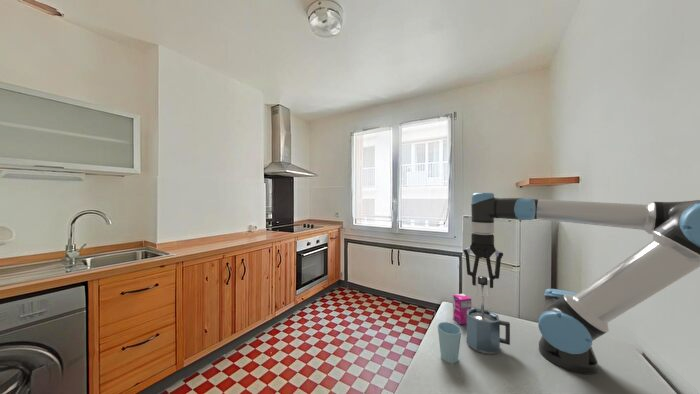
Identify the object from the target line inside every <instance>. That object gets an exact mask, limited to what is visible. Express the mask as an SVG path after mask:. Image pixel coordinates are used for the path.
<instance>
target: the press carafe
mask: <svg viewBox="0 0 700 394" xmlns="http://www.w3.org/2000/svg"><path fill="white" fill-rule="evenodd" d="M473 312H480V313H481V308H476V307H475V308H471V309H468V310H467V325H466V344H467V346H468V347H469V348H470V349H472V350H473V351H475V352H477V353H480V354H482V355H487V356H495V355H498V354H500V351H501V347H500V346H501V344H504V345H508V346H511V323H510V322H509V321H505V320H500V318H499V315H498V314H496V313H493V312H492V311H490V310H487V309H484V313H485V314H488V315H490V316H492V317H493V318H494V319H495V321H492V322H487V321H482V320H477V319H476V318H474V317H472V316H470V314H471V313H473ZM500 326H504V328H505V334H504V335H505V337H504V338H502V337H501V336H500V335H501V327H500Z"/></svg>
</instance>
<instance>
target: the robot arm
mask: <svg viewBox="0 0 700 394" xmlns="http://www.w3.org/2000/svg"><path fill="white" fill-rule="evenodd" d="M470 205H471V207H470V208H471V209H470V210H471V226H470V227H471V228H470V229H471V232H472V233H470V235H471V237H470V238H471V244H470V246H469V247H467V248H466V247H465V248H463V253H464V255H465V263H466V274H467V275H468V276H470V277H471V283H472V284H471V285H472V286H473V287H474V286H475V291H474V292H475V296H479V284H478V276H479V275H477V273H478V268H479V262H480V259H485V261H486V267H487V272H488V277H487V285H486V296H487V298H490V297H491V289H493V288H494V280H498V279H499V278H500V273H501V272H500V271H501V262H502V258H503V256H504V253H503V251H500V250H497V249H496V247H495V235H494V233H495V219H503V220H517V221H518V220H519V221H532V220H542V221H551V222H552V221H553V222H562V223H572V224H583V225H591V226H602V227H609V228H610V227H612V228H621V229H632V230H639V231H640V230H641V231H645V232H646V233H647V234H649V235H652V240H651V241H649V242H648V243H647V244H645V245H643V246H642V247H641V248H639V249H638V250H637V251H636V252H634V253H633V254H631V255H630V256H628V257H627V258H626V259H624V260H623V261H621V262H620V263H618V264H617V265H616V266H614V267H613V268H611V269H610V270H609V271H607V272H606V273H605V274H603V275H601V277H599V278H597V279H595V280H594V281H593V282H592V283H590V284H589V285H587V286H586V287H585V288H583V289H581V290H580V291H579V292H572V291H568V290H563V289H558V288H556V289H555V288H546V289H545V290H544V294H543V295H544V305H543V307H542V310H541V313H540V314H539V316H538V319H537V322H538V323H537V325H538V329H539V332H540V333H541V337H540V340H538V351H539V353H540V355H541V356H542V357H544V358H545V359H546V360H547V361H548V362H551V363H552V364H554V365H556V366H557V367H560V368H563V369H565V370H568V371H571V372H575V373H579V374H584V375H585V374H586V375H592V374H596V373H597V372H598V371H599V362H598V359H597V357H596V354H595V351H594V349H593V347H592V345H593V341H595V340H596V339H598V338H600V337H602V336H603V335H605V334H607V333H608V332H610V331H609V323H610V322H612V321H613V320H615V319H616V318H618V317H619V316H622V315H623V314H625V313H626V312H628V311H629V310H631V309H632V308H633V309H634V307H636V306H637V305H640V304H642V302H644V301H646V300H648V299H649V298H651V297H653V296H654V295H656V294H657V293H659V292H661V291H663V290H664V289H666V288H667V287H670V286H671V285H672V284H674V283H676V282H677V281H679V280H681V279H682V278H684V277H685V276H687V275H688V274H690V273H692V272H694V271H695V270H697V269H698V268H700V199H697V200H696V199H695V200H684V201H650V202H648V203H646V204H638V203H617V202H599V201H580V200H557V199H537V198H536V199H535V198H530V197H529V198H526V197H507V198H506V197H501V198H499V197H496V196H495V194H494V192H475V193H473V194H472V195H471V204H470ZM471 253H473V254H474V261H473V267H472V271H471V263H470V254H471ZM493 254H495V257H496V258H495V266H494V267H495V268H494V273H493V268H492V262H491V256H492V255H493Z"/></svg>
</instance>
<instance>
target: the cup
mask: <svg viewBox="0 0 700 394" xmlns="http://www.w3.org/2000/svg"><path fill="white" fill-rule="evenodd" d="M437 333H438V341H439V351H440V358H441V359H442V360H443V361H445V362H447V363H451V364H455V363H457V362H458V360H459V356H460V355H459V354H460V353H459V352H460V346H461V338H462V329H461V327H460V326H458V325H457V324H455V323H452V322H448V321H446V322H445V321H443V322H439V323H438V324H437Z"/></svg>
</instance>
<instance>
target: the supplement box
mask: <svg viewBox="0 0 700 394" xmlns="http://www.w3.org/2000/svg"><path fill="white" fill-rule="evenodd" d="M468 309H472V298H471V297H470V296H468V295H466V294H465V293H457V294H455V293H454V294H452V319H453V320H454V321H455V322H456V323H458V324H459V325H460V326H463V325H464V326H467V325H466V324H467V310H468Z"/></svg>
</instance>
